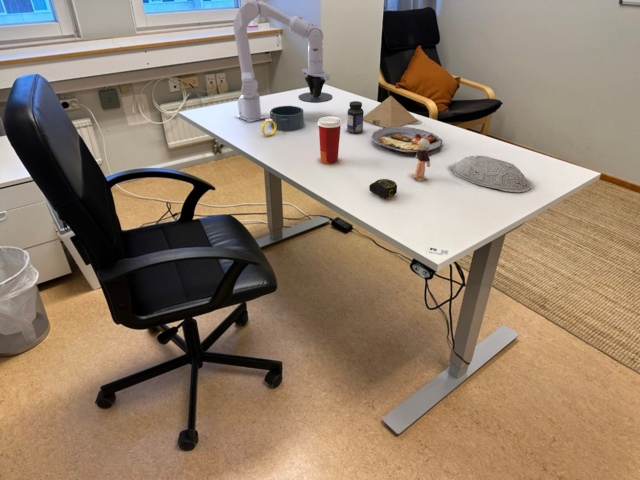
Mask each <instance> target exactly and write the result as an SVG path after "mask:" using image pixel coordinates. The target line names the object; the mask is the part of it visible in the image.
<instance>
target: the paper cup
mask: <svg viewBox="0 0 640 480" xmlns="http://www.w3.org/2000/svg"><path fill="white" fill-rule="evenodd" d="M317 126H318V139H319V140H318V141H319V153H320V162H321V163H323V164H325V165H332V164H336V163H338V160H339V150H340V148H339V147H340V139H341V126H342V121H341V118H339V117H337V116H333V115H332V116H331V115H328V116H322V117H320V118H319V119H318V121H317Z"/></svg>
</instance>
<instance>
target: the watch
mask: <svg viewBox="0 0 640 480" xmlns="http://www.w3.org/2000/svg"><path fill="white" fill-rule="evenodd" d="M271 122H273V124H274V129H273V130H272V131H271V133H266V132H265V126H266V125H267V124H269V123H270V124H271ZM276 129H277V126H276V123H275V122H274V121H273V120H272V119H270V118H264V121H263V122H262V124H261V128H260V130H261V133H262V134H263V135H264V136H265V137H269V136H274V135H275V134H276V131H277V130H276Z"/></svg>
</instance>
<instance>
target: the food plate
mask: <svg viewBox="0 0 640 480" xmlns="http://www.w3.org/2000/svg"><path fill="white" fill-rule="evenodd" d="M370 138H371V140H372V141H373V143H375V144H377V145H379V146H383V147H385V148H387V149H391V150H393V151H394V150H395V151H396V152H402V153H409V154H410V153H411V154H412V153H417V152H418V150H420V149H419V145H420V140H421V139H426V140H428V141H429V143H430V145H431V146H430V147H429V148H427V150H426V151H427V153H428V152H431V151H433V150H434V151H435V150H437V149H439V148H441V147H442V146H443V139H442V138H441V137H440V136H438V135H436V134H435V133H433V132H430V131H426V130H424V129H419V128H416V127H409V126H399V127H389V128H386V127H382V128H380V129H377V130H375V131H373V132H372V134H371V136H370Z"/></svg>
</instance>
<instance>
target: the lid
mask: <svg viewBox="0 0 640 480" xmlns="http://www.w3.org/2000/svg"><path fill="white" fill-rule="evenodd" d="M333 98H334V96H333V95H332V94H331V93H328V92H323V91H321V95H320V96H318V97H316V96H315V87H314V88H313V95H311V93H310V91H308V92H304V93H301V94H299V95H298V100H300V102H304V103H311V104H321V103H326V102H330V101H332V100H333Z"/></svg>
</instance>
